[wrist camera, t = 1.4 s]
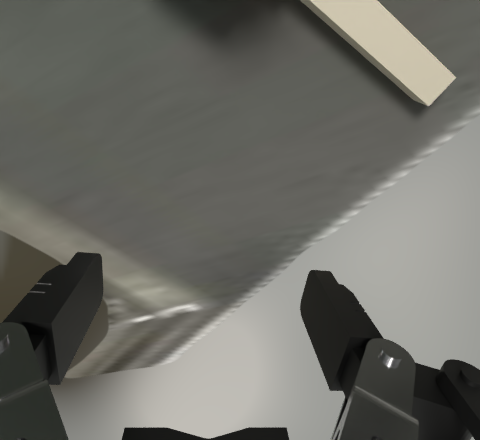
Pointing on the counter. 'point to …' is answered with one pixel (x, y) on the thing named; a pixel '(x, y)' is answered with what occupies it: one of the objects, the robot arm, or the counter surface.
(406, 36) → the plug rod
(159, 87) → the counter surface
